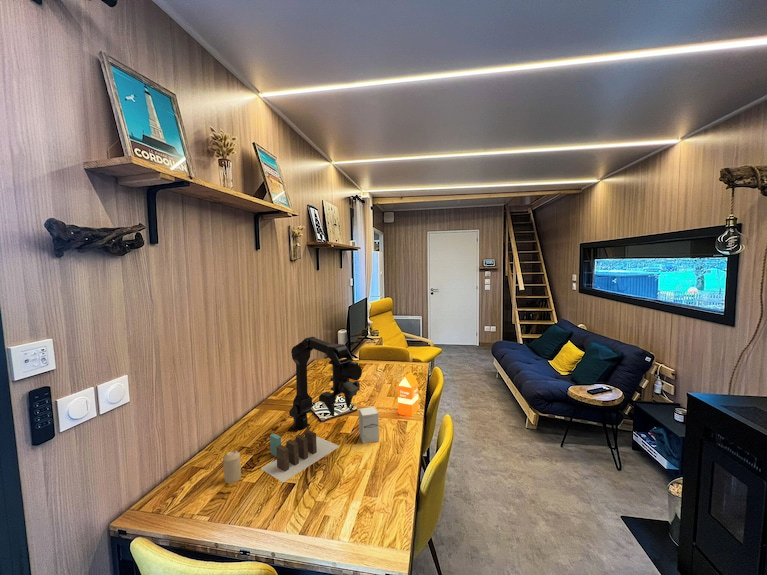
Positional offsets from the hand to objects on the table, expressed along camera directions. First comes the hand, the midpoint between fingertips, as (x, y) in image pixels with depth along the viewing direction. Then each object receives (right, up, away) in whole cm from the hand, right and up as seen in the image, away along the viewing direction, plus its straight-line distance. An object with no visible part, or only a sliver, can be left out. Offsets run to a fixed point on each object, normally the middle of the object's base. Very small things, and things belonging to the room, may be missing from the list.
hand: (340, 411), depth 136 cm
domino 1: (-25, -16, -5) cm, 30 cm away
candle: (-36, -17, -20) cm, 44 cm away
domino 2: (-20, -16, -15) cm, 29 cm away
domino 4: (-14, -15, -7) cm, 22 cm away
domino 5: (-12, -15, -4) cm, 19 cm away
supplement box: (+12, -14, +6) cm, 19 cm away
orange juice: (+31, -12, +31) cm, 46 cm away
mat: (-14, -15, -7) cm, 22 cm away
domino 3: (-17, -15, -11) cm, 25 cm away
